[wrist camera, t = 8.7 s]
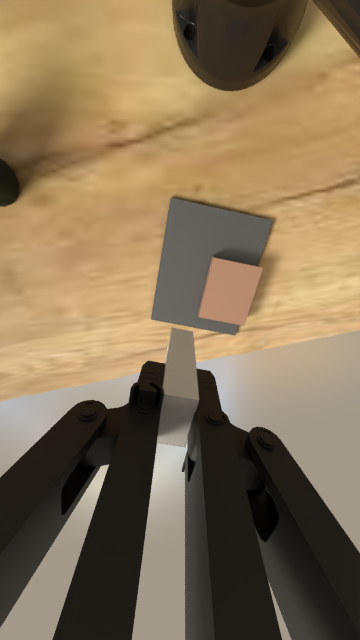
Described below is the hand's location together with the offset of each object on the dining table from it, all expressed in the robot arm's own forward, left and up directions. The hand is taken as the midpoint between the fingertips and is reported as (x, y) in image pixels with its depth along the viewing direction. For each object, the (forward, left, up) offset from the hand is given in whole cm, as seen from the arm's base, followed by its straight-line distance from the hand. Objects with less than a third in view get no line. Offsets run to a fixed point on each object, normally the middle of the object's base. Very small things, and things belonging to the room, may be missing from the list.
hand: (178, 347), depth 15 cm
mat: (-2, +4, -24) cm, 25 cm away
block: (0, +4, -22) cm, 23 cm away
